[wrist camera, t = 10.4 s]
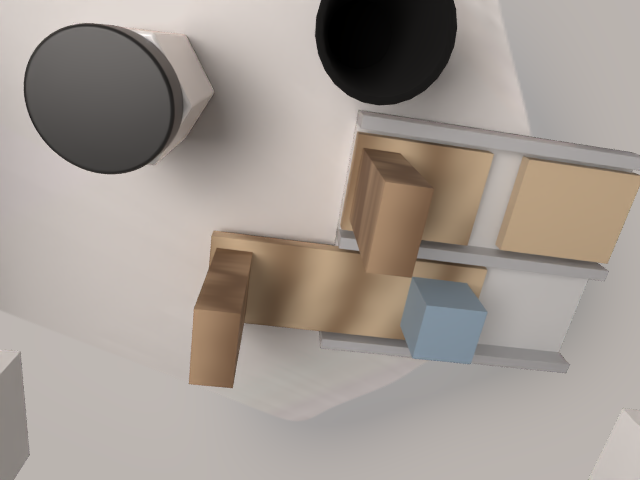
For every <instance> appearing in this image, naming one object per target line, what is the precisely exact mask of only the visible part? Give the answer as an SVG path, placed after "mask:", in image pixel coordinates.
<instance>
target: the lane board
mask: <svg viewBox="0 0 640 480" xmlns="http://www.w3.org/2000/svg"><path fill="white" fill-rule="evenodd" d="M357 131H359V132H365V133H372V134H379V135H385V136H392V137H399V138H405V139H412V140H419V141H425V142H432V143H438V144H445V145H452V146H458V147H465V148H472V149H478V150H485V151H489V152H491V153H493V154H494V156H493V160H492V163H491V166H490V170H489V173H488V177H487V180H486V184H485V187H484V190H483V194H482V197H481V201H480V204H479V208H478V211H477V215H476V218H475V221H474V225H473V228H472V232H471V235H470V239H469V242H468V245H467V246H465V245H457V244H450V243H442V242H434V241H426V240H421V243H420V247H419V251H418V255H417V258H420V259H429V260H437V261H445V262H453V263H461V264H469V265H477V266H485V267H486V269H487V274H486V277H485V280H484V283H483V286H482V289H481V293H480V296H479V301H480V302H481V304H482V305H483V306H484V308H485V309H486V311H487V312H488V313H487V316H486V319H485V322H484V325H483V328H482V331H481V334H480V337H479V341H478V344H477V347H476V350H475V353H474V356H473V359H472V362H471V364H481V365H490V366H500V367H511V368H521V369H530V370H540V371H550V372H559V373H567V370H568V368H569V365H570V364H569V363H568V362H567V361H566V360H565V359H564V357H563V356H562V355H561V354H560V353H559V351H560V349H561V346H562V344H563V341H564V339H565V336H566V334H567V332H568V328H569V326H570V324H571V322H572V319H573V317H574V314H575V312H576V309H577V307H578V304H579V302H580V299H581V297H582V294H583V292H584V289H585V287H586V284H587V282H588V280H589V279H591V280H598V281H605V279H606V277H607V274H608V272H609V271H608V270H606V269H605V268H604V267H602V266H601V265H600V264H598V263H606V264H607V263H608V261H609V259H610V257H611V254H612V252H613V249H614V247H615V244H616V242H617V240H618V237H619V235H620V232H621V230H622V228H623V225H624V223H625V220H626V218H627V215H628V213H629V211H630V208H631V206H632V203H633V201H634V198H635V196H636V194H637V191H638V189H639V186H640V175H638V174H636V173H632V170H640V155H638V154H635V153H632V152H626V151H620V150H613V149H607V148H600V147H594V146H588V145H581V144H575V143H568V142H562V141H555V140H549V139H542V138H536V137H529V136H523V135H517V134H510V133H504V132H497V131H491V130H484V129H478V128H471V127H465V126H459V125H452V124H446V123H439V122H433V121H426V120H420V119H413V118H407V117H400V116H394V115H388V114H381V113H375V112H368V111H362V110H358V116H357V122H356V127H355V133H354V138H353V144H352V149H351V155H350V160H349V166H348V171H347V177H346V183H345V188H344V194H343V199H342V205H341V210H340V216H339V221H338V227H337V232H336V238H335V244H334V246H339V248H340V249H348V250H356V251H359V248H358V245H357V242H356V238H355V235H354V232H353V231H348V230H341V226H340V223H341V217H342V212H343V206H344V201H345V195H346V190H347V184H348V179H349V173H350V168H351V162H352V157H353V151H354V146H355V140H356V135H357ZM597 262H598V263H597ZM319 337H320V348H323V349H332V350H342V351H352V352H362V353H372V354H382V355H392V356H401V357H411V358H412V356H411V353H410V351H409V348H408V345H407V343H406V340H401V339H391V338H382V337H372V336H363V335H353V334H344V333H334V332H325V331H319Z"/></svg>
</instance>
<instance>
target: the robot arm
mask: <svg viewBox="0 0 640 480" xmlns="http://www.w3.org/2000/svg"><path fill="white" fill-rule="evenodd" d="M29 455H30V454H29V443H28V431H27V420H26V409H25V398H24V386H23V376H22V364H21V352H20V351H11V350H0V480H14V479H15V477H16V475H17V474H18V472H19V471H20V469H21V468H22V466H23V464H24V463H25V461H26V460H27V458H28V457H29ZM588 480H640V410H634V409H624V408H623V409H622V411H621V413H620V415H619V417H618V419H617V421H616V423H615V425H614V427H613V429H612V432H611V433H610V436H609V438H608V440H607V442H606V444H605V446H604V448H603V450H602V452H601V454H600V456H599V458H598V460H597V462H596V464H595V466H594V468H593V471H592V472H591V475H590V477H589V479H588Z"/></svg>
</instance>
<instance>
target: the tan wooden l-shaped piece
mask: <svg viewBox="0 0 640 480" xmlns="http://www.w3.org/2000/svg"><path fill="white" fill-rule="evenodd" d="M486 274H487V269H486V267H485V266H477V265H469V264H461V263H453V262H445V261H437V260H429V259H420V258H417V259H416V263H415V267H414V271H413V275H412V277H420V278H428V279H437V280H445V281H453V282H462V283H467V284H468V285H469V287H470V288H471V290H472V291H473V292H474V294H475V295H476V297H477V298H478V299H479V296H480V293H481V289H482V286H483V283H484V280H485V277H486ZM411 280H412V278H408V277H400V276H391V275H383V274H374V273H366V270H365V267H364V264H363V261H362V258H361V254H360V251H356V250H348V249H340V248H339V246H333V245H325V244H317V243H309V242H301V241H293V240H285V239H277V238H268V237H260V236H252V235H244V234H236V233H228V232H220V231H213V234H212V236H211V249H210V262H209V270H208V272H207V275H206V278H205V281H204V283H203V286H202V289H201V291H200V294H199V297H198V299H197V302H196V305H195V307H194V316H193V330H192V345H191V360H190V375H189V384H193V385H204V386H215V387H226V388H233V383H234V378H235V372H236V366H237V361H238V355H239V349H240V343H241V338H242V332H243V326H244V323H248V324H258V325H267V326H277V327H287V328H296V329H306V330H315V331H325V332H334V333H344V334H353V335H363V336H372V337H382V338H391V339H401V340H405V337H404V335H403V332H402V329H401V327H400V323H401V319H402V315H403V311H404V307H405V303H406V299H407V295H408V291H409V287H410V284H411Z"/></svg>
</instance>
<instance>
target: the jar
mask: <svg viewBox="0 0 640 480" xmlns="http://www.w3.org/2000/svg"><path fill="white" fill-rule="evenodd" d="M213 94H214V90H213V88H212V86H211V84H210V82H209V80H208V78H207V76H206V74H205V72H204V70H203V68H202V66H201V64H200V62H199V60H198V58H197V56H196V54H195V52H194V50H193V48H192V46H191V44H190V42H189V40H188V38H187V36H186V35H184V34H177V33H169V32H161V31H152V30H144V29H136V28H127V27H119V26H114V25H105V24H94V23H82V24H81V23H73V24H72V25H70V26H67V27H64V28H61V29H59V30H57V31H55V32H53V33H52V34H50V35H49V36H48V37H46V38H45V39H44V40H43V41H42V42H41V43H40V44H39V45H38V46H37V48H36V49H35V50H34V52H33V54H32V55H31V57H30V59H29V62H28V65H27V67H26V72H25V77H24V97H25V103H26V107H27V110H28V113H29V116H30V118H31V121H32V123H33V125H34V127H35V128H36V130H37V132H38V133H39V135H40V136H41V137H42V139H43V140H44V141H45V142H46V144H47V145H48V146H49V147H50V148H51V149H52V150H53V151H54V152H56V153H57V154H58V155H59V156H61V157H62V158H63V159H65V160H66V161H68V162H70V163H71V164H73V165H75V166H77V167H80V168H82V169H85V170H88V171H91V172H95V173H101V174H122V173H127V172H131V171H134V170H137V169H139V168H141V167H143V166H145V165H156V164H157V163H158V162H159V161H160V160H162V159H163V158H164V157H165V156H166V155H167V154H168V153H169V152H170V151H172V150H173V149H174V148H175V147H176V146H177V145H178V144H179V143H181V142H182V141H183V140H184V139H185V138H186V137H187V135H188V133H189V132H190V130H191V129H192V127H193V126H194V124H195V122H196V121H197V119H198V118H199V116H200V115H201V113H202V111H203V110H204V108H205V107H206V105H207V103H208V102H209V100H210V99H211V97H212V96H213Z"/></svg>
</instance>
